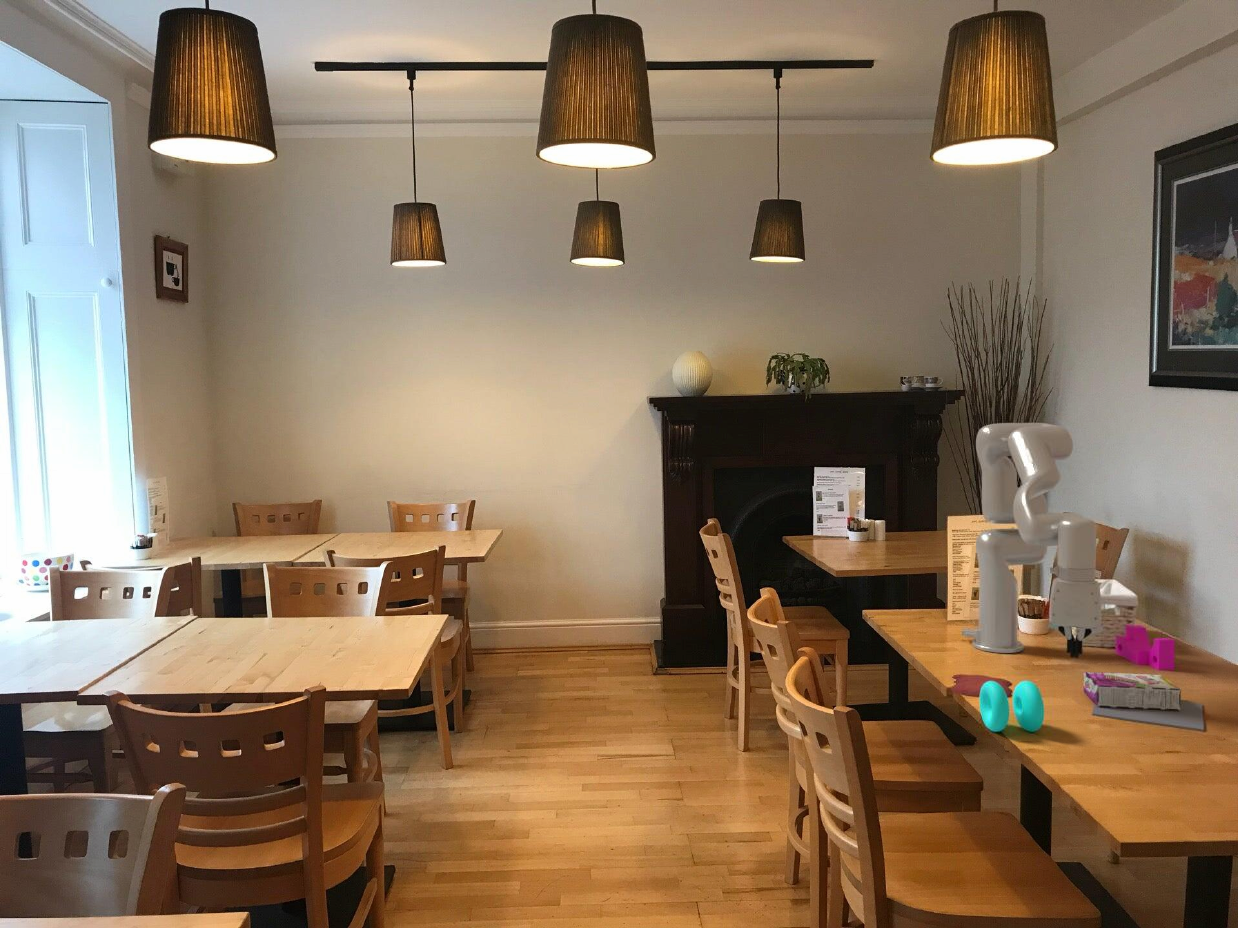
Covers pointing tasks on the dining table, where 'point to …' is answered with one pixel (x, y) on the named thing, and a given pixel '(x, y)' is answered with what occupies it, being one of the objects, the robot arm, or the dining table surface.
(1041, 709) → the donuts
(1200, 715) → the mat
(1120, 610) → the storage basket
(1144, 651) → the toy block
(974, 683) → the patty
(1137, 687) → the candy bar box
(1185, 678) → the dining table surface
